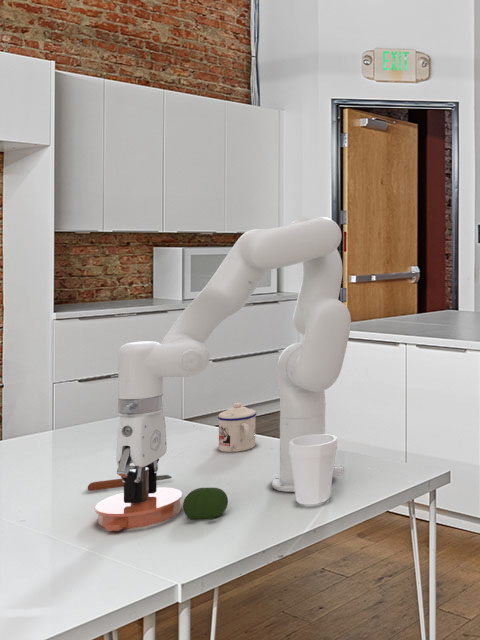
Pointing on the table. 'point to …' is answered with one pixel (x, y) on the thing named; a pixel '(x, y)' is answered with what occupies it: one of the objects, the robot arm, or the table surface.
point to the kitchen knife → (115, 483)
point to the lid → (149, 504)
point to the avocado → (205, 503)
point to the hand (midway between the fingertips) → (140, 496)
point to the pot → (138, 519)
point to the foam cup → (313, 467)
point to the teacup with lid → (236, 429)
